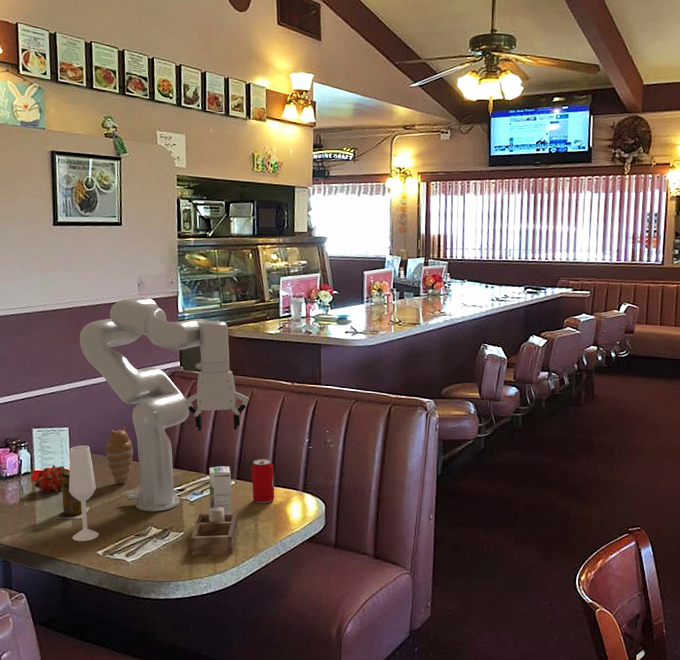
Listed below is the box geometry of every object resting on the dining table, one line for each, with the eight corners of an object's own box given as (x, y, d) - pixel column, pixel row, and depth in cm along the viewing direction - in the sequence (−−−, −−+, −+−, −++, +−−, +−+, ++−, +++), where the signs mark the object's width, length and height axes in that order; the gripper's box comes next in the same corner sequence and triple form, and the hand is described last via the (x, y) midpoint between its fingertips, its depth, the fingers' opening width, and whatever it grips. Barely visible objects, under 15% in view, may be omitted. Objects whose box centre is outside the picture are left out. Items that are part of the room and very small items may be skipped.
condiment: (90, 507, 230) (87, 468, 228) (82, 518, 222) (79, 477, 220) (65, 508, 230) (62, 468, 228) (55, 519, 221) (52, 478, 220)
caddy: (191, 555, 196) (190, 528, 195) (200, 530, 212) (198, 505, 211) (232, 553, 196) (231, 527, 195) (237, 529, 212) (236, 504, 211)
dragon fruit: (73, 490, 250) (40, 506, 241) (57, 471, 253) (24, 487, 244) (79, 472, 245) (45, 489, 236) (62, 454, 248) (28, 469, 239)
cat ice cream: (125, 477, 257) (122, 423, 254) (140, 482, 252) (137, 427, 249) (102, 484, 250) (98, 429, 247) (117, 489, 245) (113, 433, 242)
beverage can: (276, 497, 236) (274, 458, 234) (272, 504, 230) (270, 464, 228) (255, 496, 236) (254, 458, 235) (251, 504, 230) (249, 464, 229)
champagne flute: (66, 539, 207) (60, 450, 204) (83, 529, 213) (77, 443, 210) (87, 542, 205) (81, 452, 202) (104, 532, 211) (98, 445, 208)
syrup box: (210, 517, 221) (208, 467, 219) (231, 515, 222) (229, 465, 220) (211, 524, 215) (208, 473, 213) (232, 522, 216) (230, 471, 214)
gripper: (181, 370, 209) (184, 433, 211) (246, 368, 209) (249, 431, 212) (185, 365, 216) (188, 426, 218) (248, 363, 217) (250, 424, 219)
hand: (218, 429), depth 215 cm, fingers open, 9 cm apart
